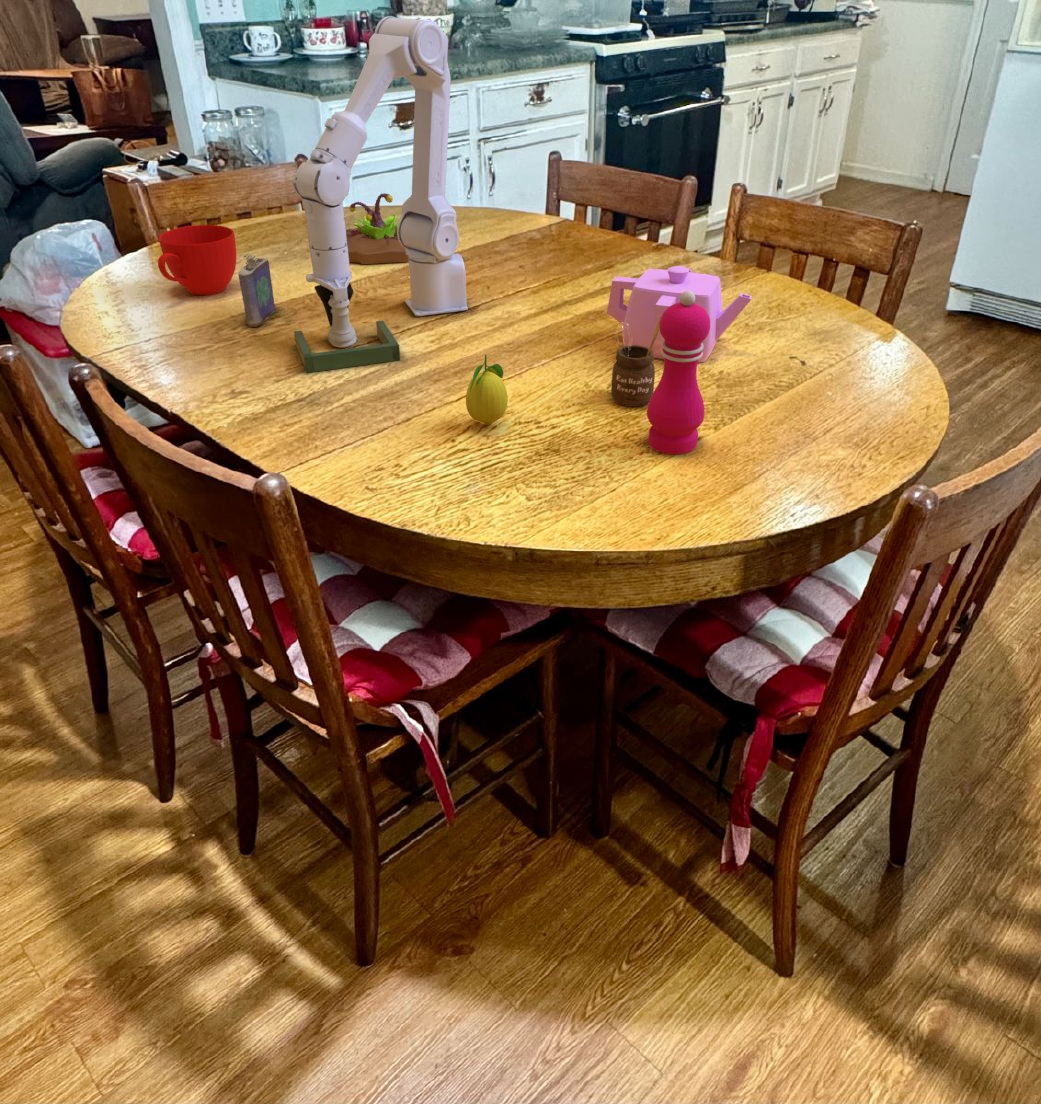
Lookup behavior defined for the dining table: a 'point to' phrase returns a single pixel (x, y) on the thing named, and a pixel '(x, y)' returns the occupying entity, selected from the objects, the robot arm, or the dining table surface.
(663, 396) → the pepper mill
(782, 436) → the dining table surface
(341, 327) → the rook chess piece
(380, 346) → the bay
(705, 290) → the teakettle
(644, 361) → the utensil holder
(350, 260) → the plant
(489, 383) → the lemon
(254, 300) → the flask
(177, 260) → the ceramic cup
